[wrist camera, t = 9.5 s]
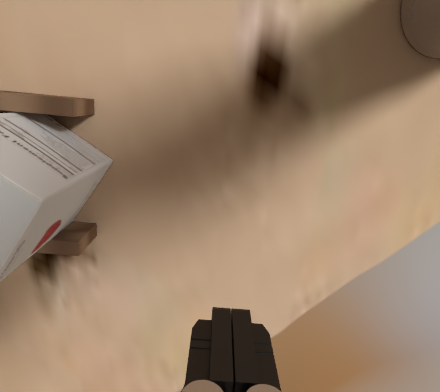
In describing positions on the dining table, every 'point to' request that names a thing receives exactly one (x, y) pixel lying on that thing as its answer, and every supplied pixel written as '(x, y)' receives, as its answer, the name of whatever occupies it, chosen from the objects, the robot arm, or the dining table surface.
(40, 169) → the supplement box
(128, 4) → the dining table surface
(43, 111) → the brown wooden box
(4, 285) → the dining table surface
